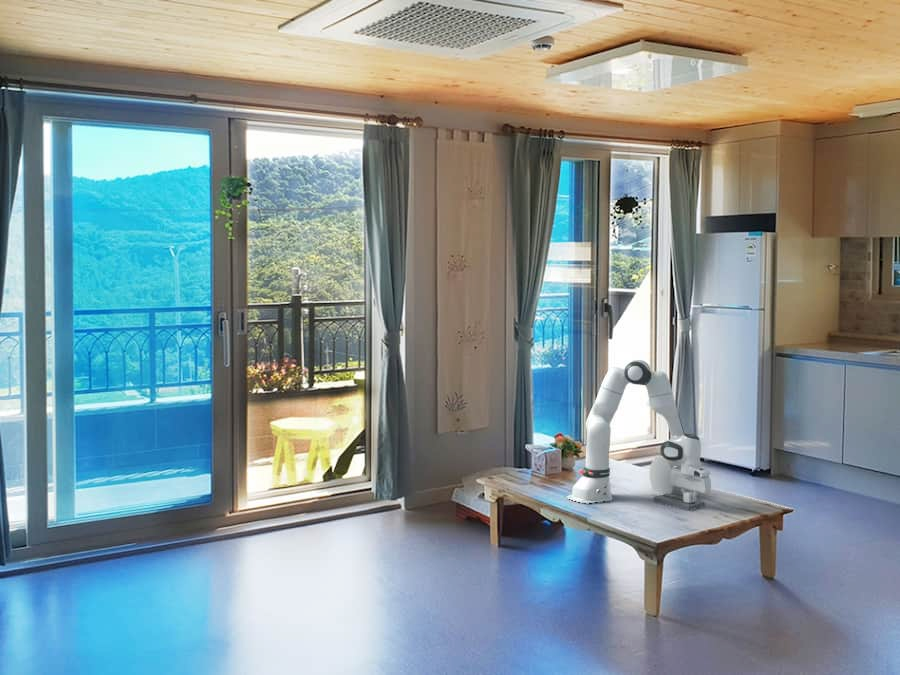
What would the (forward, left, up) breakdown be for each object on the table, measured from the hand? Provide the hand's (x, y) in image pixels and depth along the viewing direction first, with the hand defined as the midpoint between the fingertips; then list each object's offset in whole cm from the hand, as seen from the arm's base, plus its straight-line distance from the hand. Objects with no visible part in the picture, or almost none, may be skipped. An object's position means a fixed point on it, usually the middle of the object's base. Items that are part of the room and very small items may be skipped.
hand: (689, 498), depth 401 cm
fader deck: (0, +6, -4) cm, 7 cm away
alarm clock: (+11, +21, -4) cm, 24 cm away
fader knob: (0, 0, -2) cm, 2 cm away
